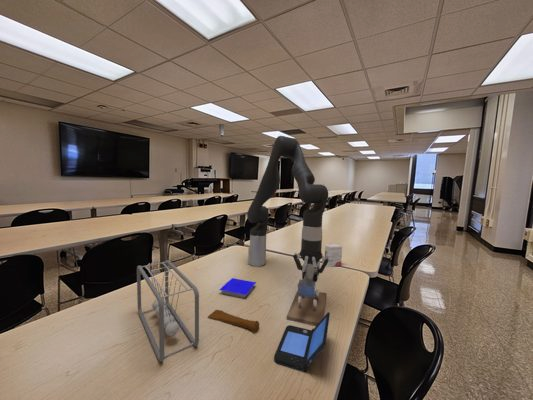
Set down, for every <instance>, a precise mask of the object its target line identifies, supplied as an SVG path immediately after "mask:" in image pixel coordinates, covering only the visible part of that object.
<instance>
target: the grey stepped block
mask: <svg viewBox="0 0 533 400" xmlns="http://www.w3.org/2000/svg"><path fill="white" fill-rule="evenodd" d="M317 264H318V269H319V268H321V262H320V261H319V262H318V263H317ZM319 276H320V273H318V277H319ZM313 278H314V268H313V265H312V264H307V268H306V273H305V276H304V279H303V280H302V278H299V281H298V283H297V290H298V295H301V296H306V297H312V298H314V295H315V291H316V283H317V282H314V281H313Z"/></svg>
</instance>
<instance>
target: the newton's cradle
mask: <svg viewBox="0 0 533 400" xmlns="http://www.w3.org/2000/svg"><path fill="white" fill-rule="evenodd" d="M161 264H162V265H163V266H164V272H163V271H162V272H161V274H162V273H163V275H164V276H162V277H158V278H156V277H155V273H154V274H153V273H152V272H151V271H153V269H151V270H150V269H149V268H148V267H151V266H156V265H161ZM169 267H170V268H171V269H172V270H173V271H174V272H175V273H176V274H177V275H178V276H176V274H175V273H173V271H172V270H171V269H170V268H169ZM143 268H145V269H146V270H147V272H148V273H149V274H150V277H149V276H148V274H147V273H146V271H145V270H144V269H143ZM160 269H161V270H162V267H160V268H159V270H160ZM156 270H158V268H156V269H154V271H156ZM169 273H171V275H169ZM159 274H160V272H158V273H157V275H159ZM141 276H142V278H143V279H144V280H145V282H146V284H147V286H148V287H149V289H150V291H151V292H152V293H153V296H154V297H155V300H154V301H153V302H152V304H151V306H152V307H151V309H148V310H145V311H143V309H142V286H141V285H142V283H141V282H142V281H141V280H142V278H141ZM169 277H174V278H175V279H174V281H175V282H174V283H175V284H174V285H172V281H173V278H171V280H170V284H169ZM179 277H180V278H181V279H182V280H183V281H184V283H185V284H187V286H188V287H190V288H188V287H187V286H186V285H185V284H184V283H183V282H182V281H181V279H179ZM158 279H162V280H164V281H162V282H159V281H158ZM177 281H178V282H179V283H177ZM163 284H164V288H163V286H162V285H163ZM171 285H172V286H171ZM181 285H182V286H183V288H185V290H181ZM176 286H179V289H178V291H177V292H176V291H175V289H176ZM172 287H174V289H173V293H171V294H170V290H171V289H169V288H172ZM136 289H137V290H136V293H137V294H136V297H137V298H136V299H137V312H138V313H137V314H138V315H139V318H140V320H141V323H142V324H143V325H142V326H143V327H144V330H145V332H146V334H147V336H148V340H149V342H150V343H151V346H152V349H153V351H154V354H155V356H156V358H157V360H158V362H160V363H162V362H163V361H164V360H165V358H166V357H168V356H171V355H173V354H175V353H177V352H179V351H181V350H184V349H185V348H188V347H191V346H194V347H197V346H198V345H199V341H200V294H199V293H200V292H199V289H198V288H197V286H196V285H195V284H194V283H193V282H192V281H191V280H189V278H188V277H186V275H185V274H184V273H183V272H182V271H181V270H180V269H178V268H177V267H176V265H174V263H172V262H171V260H169V259H167V260H165V261H163V262H157V263H152V264H147V265H137V266H136ZM157 289H158V290H157ZM188 291H193V295H194V336H193V334H192V333H191V332H190V330H189V329H188V328H187V326H186V325H185V323H184V322H183V321H182V319H181V318H180V316H179V315H178V313H177V312H176V311H177V309H174V307H173V303H170V300H169V297H174V296H175V295H177V300H176V305H175V308H177V306H178V302H179V296H180V294H182V293H185V292H188ZM173 301H174V298H172V300H171V302H173ZM151 311H155V312H154V313H155V315H156V316H157V317H158V333H159V334H158V336H159V341H158V342H159V343H158V344H159V346H158V344H157V342H156V340H155V338H154V335H153V332H152V330H151V329H150V326H149V324H148V322H147V319H146V317H145V315H144V314H145V313H148V312H151ZM180 328H181V329H182V331H183V332H184V335H186V337H187V338H188V340H189V342H190V343H189V344H188V345H185V346H183V347H180V348H178V349H175V350H173V351H171V352H169V353H167V354H165V333H166V335H167V336H169V337H174V336H176V335H177V334H178V332H179V329H180Z"/></svg>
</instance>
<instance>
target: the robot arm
mask: <svg viewBox="0 0 533 400" xmlns="http://www.w3.org/2000/svg"><path fill="white" fill-rule="evenodd" d="M281 158H285V159H291V160H292V161H293V165H292V168H291V171H292V172H291V173H292V176H293V178H294V180H295V181H296V183H297V188H298V195H299V200H301V201H302V203H304V204H313V206H312V207H310V208H308V209H305V210H304V211H303V215H302V229H301V244H300V247H301V248H300V251H299V252H298V253H297V252H296V253H294V254H293V256H292V258H293V260H294V263H295V266H296V268H297V270H298V271H301V276H302V277H301V279H302V280H303V279H304V276H305V273H306V268H307V264H312V265H313V268H314V278H313V281H314V282H316V283H317V281H318V277H319V276H318V273H319V274H322V273H323V272H324V270H325V268H326V267H327V266H326V265H327V263H328V261H329V258H328V257H325V255H323V252H322V245H323V215H324V212H325V208H326V205H327V204H328V203H327V202H328V200H329V199H328V198H329V189H328V188H327V186H325V185H324V184H320V183H319V184H317V183H315V182H316V178H315V176H314V174H313V172H312V171H311V168H310V167H309V165H308V164H307V162H306V159H305V155H304V153H303V150H302V147H301V145H300V142H299V141H298V140H297V139H295V138H294V137H289V136H284V135H279V136H277V137H276V139H275V140H274V142H273V145H272V149H271V152H270V156H269V159H268V162H267V166H266V168H265V170H264V173H263V175H262V177H261V180H260V182H259V185H258V188H257V191H256V193H255V196H254V198H253V200H252V202H251V203H250V206H249V207H248V210H247V220H248V222H249V223H251V224H256V225H255V226H253V227H251V228H250V230H249V247H248V253H247V254H248V255H247V259H248V260H247V264H248V265H250V264H251V265H250V266H252V265H253V266H252V267H257V266H259V267H263V266H262V265H264V264H265V265H266V261H267V260H266V258H267V257H266V256H267V233H268V232H267V231H268V228H269V227H268V226H269V210H268V208H267V206H265V203H266V202H268V201H269V200H270V199H271V198H272V197H273V196H274V195H275V194H276V192H277V191H278V189H279V186H280V184H281V176H280V172H279V167H278V165H279V161H280V159H281ZM314 183H315V184H314ZM263 205H264V206H263ZM300 258H301V260H302V261H303V265H302V262H301V260H300ZM320 261H321V262H322V264H321V265H320V268H319V269H318V264H317V263H318V262H319V263H320ZM265 265H264V266H265Z"/></svg>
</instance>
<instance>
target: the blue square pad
mask: <svg viewBox="0 0 533 400" xmlns="http://www.w3.org/2000/svg"><path fill="white" fill-rule="evenodd" d="M256 284H257V282H256V281H250V280H244V279H238V278H234V277H231V278H230V279H229V280H228V281H227V282H226V283H225V284H224V285H223V286H221V287H220V288H219V291H221V295H222V294H223V295H227V296H232V297H236V298H242V299H246V297H247V296H248V295H249V294H250V293H251V291H252V290H253V288H255V287H254V286H255V285H256Z"/></svg>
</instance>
